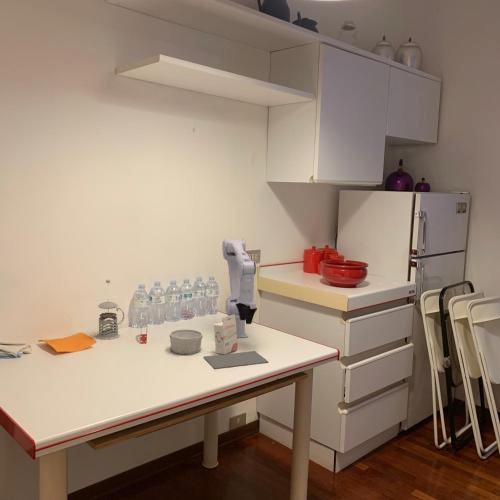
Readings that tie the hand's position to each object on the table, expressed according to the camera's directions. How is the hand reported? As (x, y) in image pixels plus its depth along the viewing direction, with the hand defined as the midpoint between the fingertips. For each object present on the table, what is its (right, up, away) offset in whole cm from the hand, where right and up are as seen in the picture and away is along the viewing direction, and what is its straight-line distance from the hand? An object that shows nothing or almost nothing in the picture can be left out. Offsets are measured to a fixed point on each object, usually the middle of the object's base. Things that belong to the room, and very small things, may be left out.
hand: (245, 322), depth 211 cm
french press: (-59, -8, +8) cm, 60 cm away
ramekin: (-24, -11, -6) cm, 27 cm away
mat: (-4, -13, -16) cm, 20 cm away
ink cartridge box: (-8, -11, -7) cm, 15 cm away
